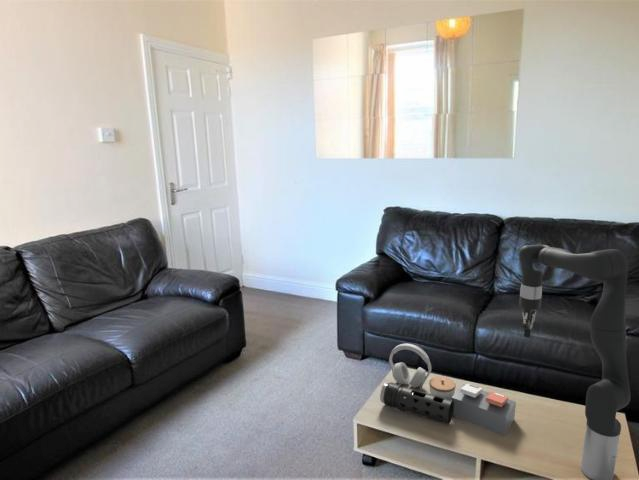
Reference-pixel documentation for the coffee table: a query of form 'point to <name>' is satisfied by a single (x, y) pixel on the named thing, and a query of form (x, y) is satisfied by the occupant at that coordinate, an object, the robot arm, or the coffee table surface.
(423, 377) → the headphones
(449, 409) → the muzzle brake
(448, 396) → the lidded jar
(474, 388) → the white block
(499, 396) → the labelled salmon box
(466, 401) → the switch box
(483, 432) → the coffee table surface
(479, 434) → the coffee table surface
